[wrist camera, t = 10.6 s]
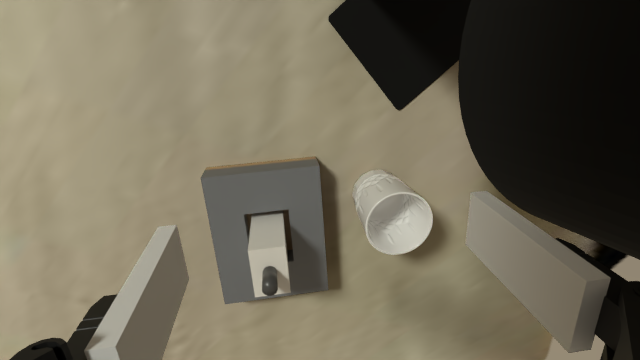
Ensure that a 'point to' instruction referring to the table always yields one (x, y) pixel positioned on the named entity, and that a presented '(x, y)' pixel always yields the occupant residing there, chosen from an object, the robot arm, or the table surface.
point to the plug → (268, 254)
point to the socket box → (264, 196)
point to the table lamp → (526, 96)
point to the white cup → (391, 213)
